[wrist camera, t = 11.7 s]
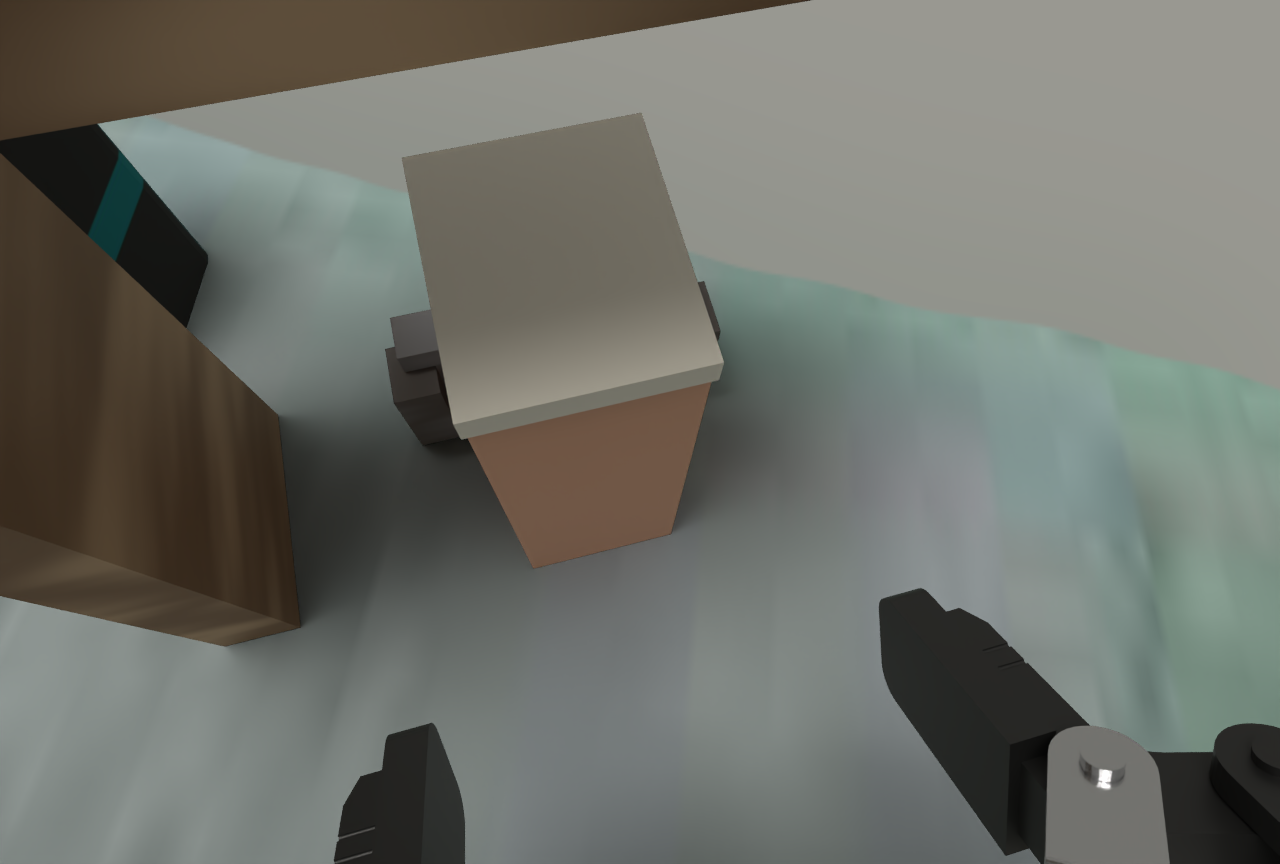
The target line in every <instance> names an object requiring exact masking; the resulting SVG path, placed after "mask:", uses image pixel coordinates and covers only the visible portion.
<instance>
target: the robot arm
mask: <svg viewBox="0 0 1280 864" xmlns="http://www.w3.org/2000/svg"><path fill="white" fill-rule="evenodd" d="M879 619H880V638H881V657H882V668H883V673H884V677H885V680H886V683H887V685H888V688H889V690H890V692H891V694H892V696H893V698H894V699H895V701H896V702H897V704H898V705H899V706H900V708H901V709H902V711H903V712H904V713H905V715H906V716H907V718H908V719H909V721H910V722H911V723H912V725H913V726H914V728H915V729H916V730H917V732H918V733H919V735H920V736H921V737H922V739H923V740H924V742H925V743H926V744H927V746H928V747H929V749H930V750H931V751H932V753H933V754H934V756H935V757H936V758H937V760H938V761H939V763H940V764H941V766H942V767H943V768H944V770H945V771H946V773H947V774H948V775H949V777H950V778H951V780H952V781H953V782H954V784H955V785H956V787H957V788H958V789H959V791H960V792H961V794H962V795H963V796H964V798H965V799H966V801H967V802H968V803H969V805H970V806H971V808H972V809H973V810H974V812H975V813H976V815H977V816H978V818H979V819H980V820H981V822H982V823H983V825H984V826H985V827H986V829H987V830H988V832H989V833H990V834H991V836H992V837H993V839H994V840H995V841H996V843H997V844H998V846H999V847H1000V848H1001V850H1002V851H1003V853H1004V854H1005V855H1006V856H1007V855H1010V854H1013V853H1016V852H1019V851H1022V850H1025V849H1028V848H1029V849H1030V850H1031V851H1032V853H1033V854H1034V855H1035V857H1036V858H1037V859H1038V861H1039V862H1040V863H1041V864H1280V728H1277V727H1274V726H1269V725H1263V724H1253V723H1251V724H1239V725H1234V726H1231V727H1228V728H1226V729H1224V730H1223V731H1221V733H1220V734H1219V735H1218V736H1217V738H1216V740H1215V744H1214V750H1213V752H1174V753H1162V752H1149V751H1146V750H1145V749H1144V748H1143V747H1142V746H1141V745H1139V744H1138V743H1137V742H1135V741H1134V740H1132V739H1131V738H1129V737H1127V736H1125V735H1123V734H1121V733H1119V732H1116V731H1113V730H1110V729H1106V728H1102V727H1096V726H1090V725H1089V724H1088V723H1087V722H1086V721H1085V720H1084V719H1083V718H1082V717H1081V716H1080V715H1079V714H1078V713H1077V712H1076V711H1075V710H1074V709H1073V708H1072V707H1071V706H1070V705H1069V704H1068V703H1067V702H1066V701H1065V700H1064V699H1063V698H1062V697H1061V696H1060V695H1059V694H1058V693H1057V692H1056V691H1055V690H1054V689H1053V688H1052V687H1051V686H1050V685H1049V684H1048V683H1047V682H1046V681H1045V680H1044V679H1043V678H1042V677H1041V676H1040V675H1039V674H1038V673H1037V672H1036V671H1035V670H1034V669H1033V668H1032V667H1031V666H1030V665H1029V664H1028V663H1027V664H1026V663H1025V662H1024V659H1023V658H1022V657H1021V656H1020V655H1019V654H1018V653H1017V652H1016V651H1015V650H1014V649H1013V648H1012V647H1009V646H1008V643H1007V642H1006V641H1005V640H1004V639H1003V638H1002V637H1001V636H1000V635H999V634H998V633H997V632H996V631H995V630H994V629H993V628H992V627H991V625H990V624H989V623H987V622H986V621H984V620H982V619H980V618H978V617H976V616H974V615H972V614H970V613H968V612H966V611H964V610H962V609H960V608H958V609H954V610H951V611H947V612H946V611H945V610H944V609H943V608H942V607H941V606H940V605H939V604H938V603H937V601H936V600H935V599H934V598H933V597H932V596H931V595H930V594H929V593H928V592H927V591H926V590H924V589H922V588H919V589H915V590H912V591H908V592H905V593H901V594H897V595H894V596H890V597H887V598H883V599H881V601H880V603H879ZM338 837H339V841H338V842H337V845H336V851H335V857H334V862H335V864H465V819H464V810H463V803H462V798H461V794H460V790H459V787H458V784H457V781H456V778H455V776H454V773H453V771H452V768H451V765H450V763H449V760H448V757H447V755H446V752H445V749H444V747H443V744H442V741H441V739H440V736H439V733H438V731H437V728H436V727H435V725H434V724H433V723H430V724H426V725H422V726H419V727H415V728H412V729H408V730H404V731H401V732H397V733H394V734H390V735H388V736H387V739H386V743H385V750H384V759H383V767H382V770H381V771H378V772H374V773H371V774H367V775H364V776H360V778H359V780H358V782H357V783H356V785H355V787H354V788H353V790H352V792H351V794H350V795H349V797H348V799H347V800H346V802H345V804H344V806H343V810H342V816H341V822H340V828H339V834H338Z"/></svg>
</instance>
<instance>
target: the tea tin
mask: <svg viewBox="0 0 1280 864" xmlns="http://www.w3.org/2000/svg"><path fill="white" fill-rule="evenodd" d="M402 162H403V167H404V172H405V177H406V182H407V187H408V193H409V198H410V203H411V208H412V214H413V219H414V224H415V229H416V234H417V240H418V245H419V250H420V255H421V260H422V266H423V271H424V276H425V281H426V286H427V291H428V297H429V302H430V307H431V312H432V317H433V323H434V328H435V333H436V338H437V343H438V349H439V354H440V359H441V364H442V369H443V375H444V380H445V385H446V390H447V395H448V400H449V406H450V411H451V416H452V421H453V425H454V427H455V429H456V431H457V433H458V435H459V437H460V438H461V440H462V439H466V438H468V440H469V442H470V444H471V446H472V448H473V450H474V452H475V454H476V456H477V458H478V460H479V462H480V464H481V466H482V468H483V470H484V472H485V474H486V476H487V478H488V480H489V482H490V484H491V485H492V487H493V489H494V491H495V493H496V495H497V497H498V499H499V501H500V503H501V505H502V507H503V509H504V511H505V513H506V515H507V517H508V519H509V521H510V523H511V525H512V527H513V529H514V531H515V533H516V535H517V537H518V539H519V541H520V543H521V545H522V547H523V549H524V551H525V553H526V555H527V557H528V559H529V561H530V563H531V565H532V567H533V569H534V568H538V567H542V566H546V565H550V564H554V563H558V562H562V561H566V560H570V559H574V558H578V557H582V556H586V555H590V554H594V553H598V552H602V551H606V550H610V549H613V548H617V547H621V546H625V545H629V544H633V543H637V542H641V541H645V540H649V539H653V538H657V537H661V536H665V535H669V534H671V531H672V528H673V524H674V520H675V517H676V513H677V509H678V505H679V502H680V498H681V494H682V490H683V487H684V483H685V479H686V476H687V472H688V468H689V464H690V461H691V457H692V453H693V449H694V446H695V442H696V438H697V434H698V431H699V427H700V423H701V420H702V416H703V412H704V408H705V405H706V401H707V397H708V393H709V390H710V386H711V382H713V381H718V380H719V379H720V375H721V372H722V369H723V365H724V360H723V357H722V354H721V351H720V348H719V345H718V342H717V339H716V336H715V333H714V330H713V327H712V324H711V321H710V318H709V315H708V312H707V309H706V306H705V303H704V300H703V297H702V294H701V291H700V288H699V285H698V282H697V279H696V276H695V273H694V270H693V267H692V264H691V261H690V258H689V255H688V252H687V249H686V246H685V243H684V240H683V237H682V234H681V231H680V228H679V225H678V222H677V219H676V216H675V213H674V210H673V207H672V204H671V201H670V198H669V195H668V192H667V188H666V185H665V182H664V179H663V176H662V173H661V171H660V167H659V164H658V161H657V158H656V155H655V152H654V149H653V146H652V143H651V140H650V137H649V134H648V131H647V129H646V125H645V122H644V119H643V116H642V113H637V114H632V115H627V116H621V117H616V118H611V119H606V120H601V121H595V122H589V123H584V124H579V125H574V126H568V127H563V128H557V129H552V130H547V131H541V132H536V133H531V134H526V135H520V136H515V137H509V138H504V139H499V140H493V141H488V142H483V143H477V144H472V145H467V146H462V147H457V148H451V149H445V150H440V151H435V152H429V153H424V154H419V155H414V156H408V157H403V158H402Z"/></svg>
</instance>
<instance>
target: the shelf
mask: <svg viewBox="0 0 1280 864" xmlns="http://www.w3.org/2000/svg"><path fill="white" fill-rule="evenodd" d="M804 1H810V0H0V140H5V139H11V138H17V137H23V136H29V135H34V134H40V133H46V132H52V131H58V130H63V129H69V128H75V127H81V126H86V125H92V124H98V123H104V122H110V121H115V120H121V119H127V118H133V117H139V116H144V115H150V114H156V113H161V112H167V111H173V110H179V109H185V108H191V107H196V106H202V105H207V104H214V103H219V102H225V101H230V100H237V99H243V98H248V97H254V96H260V95H266V94H272V93H277V92H283V91H288V90H295V89H301V88H306V87H312V86H318V85H323V84H329V83H335V82H341V81H347V80H353V79H358V78H364V77H370V76H376V75H382V74H387V73H393V72H399V71H405V70H410V69H416V68H422V67H428V66H434V65H439V64H445V63H451V62H457V61H463V60H468V59H474V58H480V57H486V56H491V55H497V54H503V53H509V52H514V51H520V50H526V49H532V48H538V47H544V46H549V45H555V44H560V43H567V42H573V41H578V40H584V39H590V38H596V37H601V36H607V35H613V34H619V33H625V32H630V31H636V30H642V29H648V28H653V27H659V26H665V25H671V24H677V23H683V22H688V21H694V20H700V19H705V18H711V17H717V16H723V15H728V14H735V13H740V12H746V11H752V10H757V9H764V8H769V7H775V6H781V5H787V4H792V3H798V2H804ZM698 285H699V288H700V291H701V294H702V297H703V300H704V303H705V306H706V309H707V312H708V315H709V318H710V321H711V324H712V327H713V330H714V333H715V336H716V339H717V342H718V339H719V335H720V328H719V325H718V322H717V319H716V316H715V313H714V310H713V307H712V304H711V301H710V298H709V295H708V292H707V289H706V286H705V283H704V281H703V282H698ZM390 321H391V327H392V333H393V339H394V344H395V347H392V348H388V349H385V351H386V357H387V363H388V369H389V376H390V382H391V388H392V394H393V400H394V404H395V405H396V407H397V408H398V410H399V411H400V413H401V414H402V416H403V417H404V419H405V420H406V422H407V423H408V425H409V426H410V428H411V429H412V431H413V432H414V434H415V435H416V437H417V438H418V440H419V441H420V443H421V444H422V445H427V444H432V443H436V442H440V441H445V440H449V439H454V438H458V437H459V435H458V433H457V431H456V429H455V427H454V425H453V421H452V416H451V411H450V406H449V400H448V395H447V390H446V385H445V380H444V375H443V369H442V364H441V359H440V354H439V349H438V343H437V338H436V333H435V328H434V323H433V317H432V312H431V310H426V311H421V312H416V313H412V314H407V315H402V316H397V317H392V318H390ZM0 596H2V597H7V598H11V599H16V600H20V601H25V602H29V603H34V604H38V605H42V606H47V607H51V608H56V609H60V610H65V611H69V612H74V613H78V614H82V615H87V616H91V617H96V618H100V619H105V620H109V621H114V622H118V623H123V624H127V625H131V626H136V627H140V628H145V629H149V630H154V631H158V632H163V633H167V634H171V635H176V636H180V637H185V638H189V639H194V640H198V641H203V642H207V643H212V644H216V645H220V646H228V645H232V644H236V643H240V642H244V641H248V640H252V639H256V638H260V637H264V636H268V635H272V634H276V633H280V632H284V631H288V630H292V629H296V628H300V618H299V608H298V599H297V589H296V580H295V571H294V561H293V552H292V542H291V533H290V523H289V514H288V505H287V495H286V486H285V476H284V467H283V458H282V448H281V439H280V429H279V420H278V414H276V413H275V412H274V411H273V410H272V409H271V408H270V407H269V406H268V405H267V404H266V403H265V402H264V401H263V400H262V399H261V398H259V397H258V396H257V395H256V394H255V393H254V392H253V391H252V390H251V389H250V388H249V387H248V386H247V385H246V384H245V383H244V382H243V381H241V380H240V379H239V378H238V377H237V376H236V375H235V374H234V373H233V372H232V371H231V370H230V369H229V368H228V367H227V366H226V365H224V364H223V363H222V362H221V361H220V360H219V359H218V358H217V357H216V356H215V355H214V354H213V353H212V352H211V351H210V350H209V349H208V348H206V347H205V346H204V345H203V344H202V343H201V342H200V341H199V340H198V339H197V338H196V337H195V336H194V335H193V334H192V333H191V332H189V331H188V330H187V329H186V328H185V327H184V326H183V325H182V324H181V323H180V322H179V321H178V320H177V319H176V318H175V317H174V316H173V315H171V314H170V313H169V312H168V311H167V310H166V309H165V308H164V307H163V306H162V305H161V304H160V303H159V302H158V301H157V300H156V299H154V298H153V297H152V296H151V295H150V294H149V293H148V292H147V291H146V290H145V289H144V288H143V287H142V286H141V285H140V284H139V283H138V282H136V281H135V280H134V279H133V278H132V277H131V276H130V275H129V274H128V273H127V272H126V271H125V270H124V269H123V268H122V267H121V266H119V265H118V264H117V263H116V262H115V261H114V260H113V259H112V258H111V257H110V256H109V255H108V254H107V253H106V252H105V251H104V250H102V249H101V248H100V247H99V246H98V245H97V244H96V243H95V242H94V241H93V240H92V239H91V238H90V237H89V236H88V235H87V234H86V233H84V232H83V231H82V230H81V229H80V228H79V227H78V226H77V225H76V224H75V223H74V222H73V221H72V220H71V219H70V218H69V217H67V216H66V215H65V214H64V213H63V212H62V211H61V210H60V209H59V208H58V207H57V206H56V205H55V204H54V203H53V202H52V201H51V200H49V199H48V198H47V197H46V196H45V195H44V194H43V193H42V192H41V191H40V190H39V189H38V188H37V187H36V186H35V185H34V184H32V183H31V182H30V181H29V180H28V179H27V178H26V177H25V176H24V175H23V174H22V173H21V172H20V171H19V170H18V169H17V168H16V167H14V166H13V165H12V164H11V163H10V162H9V161H8V160H7V159H6V158H5V157H4V156H3V155H2V154H1V153H0Z"/></svg>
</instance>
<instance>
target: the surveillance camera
mask: <svg viewBox="0 0 1280 864" xmlns="http://www.w3.org/2000/svg"><path fill="white" fill-rule="evenodd" d="M0 153H1V154H2V155H3V156H4V157H5V158H6V159H7V160H8V161H9V162H10V163H11V164H12V165H13V166H14V167H16V168H17V169H18V170H19V171H20V172H21V173H22V174H23V175H24V176H25V177H26V178H27V179H28V180H29V181H30V182H31V183H32V184H34V185H35V186H36V187H37V188H38V189H39V190H40V191H41V192H42V193H43V194H44V195H45V196H46V197H47V198H48V199H49V200H51V201H52V202H53V203H54V204H55V205H56V206H57V207H58V208H59V209H60V210H61V211H62V212H63V213H64V214H65V215H66V216H67V217H69V218H70V219H71V220H72V221H73V222H74V223H75V224H76V225H77V226H78V227H79V228H80V229H81V230H82V231H83V232H84V233H86V234H87V235H88V236H89V237H90V238H91V239H92V240H93V241H94V242H95V243H96V244H97V245H98V246H99V247H100V248H101V249H102V250H104V251H105V252H106V253H107V254H108V255H109V256H110V257H111V258H112V259H113V260H114V261H115V262H116V263H117V264H118V265H119V266H121V267H122V268H123V269H124V270H125V271H126V272H127V273H128V274H129V275H130V276H131V277H132V278H133V279H134V280H135V281H136V282H138V283H139V284H140V285H141V286H142V287H143V288H144V289H145V290H146V291H147V292H148V293H149V294H150V295H151V296H152V297H153V298H154V299H156V300H157V301H158V302H159V303H160V304H161V305H162V306H163V307H164V308H165V309H166V310H167V311H168V312H169V313H170V314H171V315H173V316H174V317H175V318H176V319H177V320H178V321H179V322H180V323H181V324H182V325H183V326H184V327H185V328H187V324H188V321H189V318H190V315H191V312H192V309H193V306H194V303H195V300H196V297H197V294H198V291H199V288H200V285H201V282H202V278H203V275H204V272H205V269H206V266H207V263H208V255H207V253H206V252H205V251H204V250H203V248H202V247H201V246H200V245H199V244H198V242H197V241H196V240H195V239H194V238H193V236H192V235H191V234H190V233H189V232H188V231H187V229H186V228H185V227H184V226H183V225H182V223H181V222H180V221H179V220H178V219H177V217H176V216H175V215H174V214H173V213H172V212H171V210H170V209H169V208H168V207H167V206H166V204H165V203H164V202H163V201H162V200H161V199H160V197H159V196H158V195H157V194H156V193H155V191H154V190H153V189H152V188H151V187H150V186H149V184H148V183H147V182H146V181H145V180H144V178H143V177H142V176H141V175H140V174H139V172H138V171H137V170H136V169H135V168H134V167H133V165H132V164H131V163H130V162H129V161H128V159H127V158H126V157H125V156H124V155H123V154H122V152H121V151H120V150H119V149H118V148H117V146H116V145H115V144H114V143H113V142H112V141H111V139H110V138H109V137H108V136H107V135H106V133H105V132H104V131H103V130H102V129H101V127H100V126H99V125H98V124H92V125H86V126H81V127H75V128H69V129H63V130H58V131H52V132H46V133H40V134H34V135H29V136H23V137H17V138H11V139H5V140H0Z"/></svg>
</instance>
